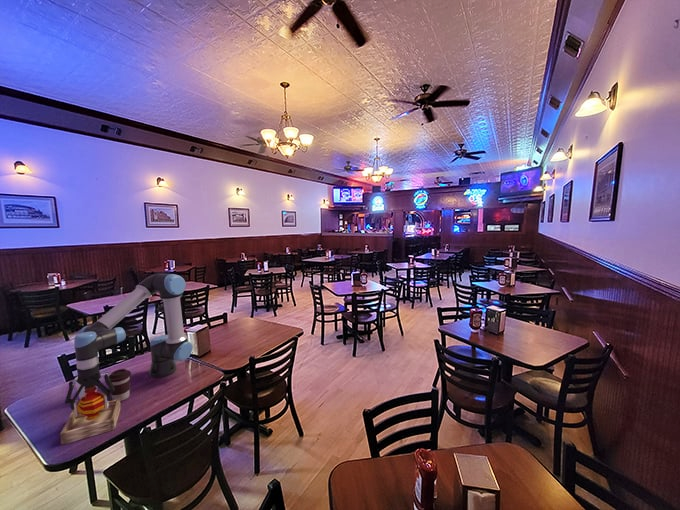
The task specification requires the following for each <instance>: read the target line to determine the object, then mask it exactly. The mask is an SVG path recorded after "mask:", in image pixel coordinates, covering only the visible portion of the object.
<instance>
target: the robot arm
mask: <svg viewBox="0 0 680 510" xmlns="http://www.w3.org/2000/svg"><path fill="white" fill-rule="evenodd" d="M186 285H187V284H186V280H185V279H184V278H183V277H182V276H181V275H178V274H174V273H160V272H159V273H154V274H152V275H150V276H148V277H146V278H145V279H143V280H142V281H141V282H139V283H138V284H137V285H136V286H135V289H134V290H132V291H131V292H130V293H129V294H127V296H125V297H124V298H123V299H122V300H120V301H119V302H118V303H117V304H116V305H114V306H113V307H112V308H111V309H110V310H109V311H107V312H105V314H104V315H102V316H100V317H99V319H98V320H96V321H95V322H94V323H92V324H91V325H86V326H84V327H83V326H82V328H81V329H80V330H79V332H78V334H76V335H75V336H74V339H73V341H74V344H73V347H74V352H75V363H76V370H77V372H76V375H77V376H78V379H76V380H75V379H70V380H69V381H68V391H67V393H66V397H65V400H64V404H66V405H68V404H70V410H71V411H73V410H75V417H77V416H78V414H79V412H78V411H77V410H76V409H77V405H78V403H79V400H78V399H77V398H78V397H79V393H80V392H81V390H82V388H83V387H88V386H93V385H95V386H97V389H98V388H99V389H100V391H101V392H102V393H103V394H104V395H105V396H104V398H105V409H108V406H110V405H109V404H108V402H109V401H111V399H112V394H111V393H113V392H114V390H115V388H114V386H113V384H112V382H111V380H110V378H109V372H108V371H107V372H105V373H101V372H100V364H99V362H100V361H99V350H102V349H105V348H109V347H111V346H113V345H118V344H119V343H122V342H123V341H125V340H126V336H127V335H126V331H125V329H124V328H123V327H120V326H119V327H115V326H116V325H117V324H119V323H120V322H121V321H122V320H123V319H124V318H125V317H126V316H128V314H130V312H132V311H133V310H134V309H136V308H137V306H139V305H140V304H141V303H142V302H143V301H145V300H146V299H147V298H151V296H153V295H155V294H159V299H160V300H161V301H163V308H164V309H163V310H164V315H165V323H166V331H167V334H162V335H159V336H156V337H154V338H152V339H151V340H150V345H149V346H150V347H149V348H150V357H151V358H150V359H151V364H150V367H149V370H148V374H149V377H150V378H154V379H155V378H163V377H167V376H169V375H172V374H174V373H175V372H176V371H177V369H178V365H177V363H176V362H183V361H185V360H187V359H188V358H189V357H190V356H191V354H192V352H193V349H194V346H193V343H192V342H190V341H189V339H188V335H186V334H185V331H184V323H183V321H184V320H183V315H182V314H183V313H182V304H181V298H182V296H183V293H184V291H185V290H186V287H187V286H186ZM113 327H114V328H113ZM101 378H102V379H103V380H104V383H105V384H104V383H102V382H101V380H100V379H101ZM76 382H77V383H79V384H80V385H81V386H80V387H79V389H78V391H77V390H76V393H74V396H73V397H72V393H73V390H74V387H75V386H76V385H75V384H76ZM106 385H107V386H106Z"/></svg>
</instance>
